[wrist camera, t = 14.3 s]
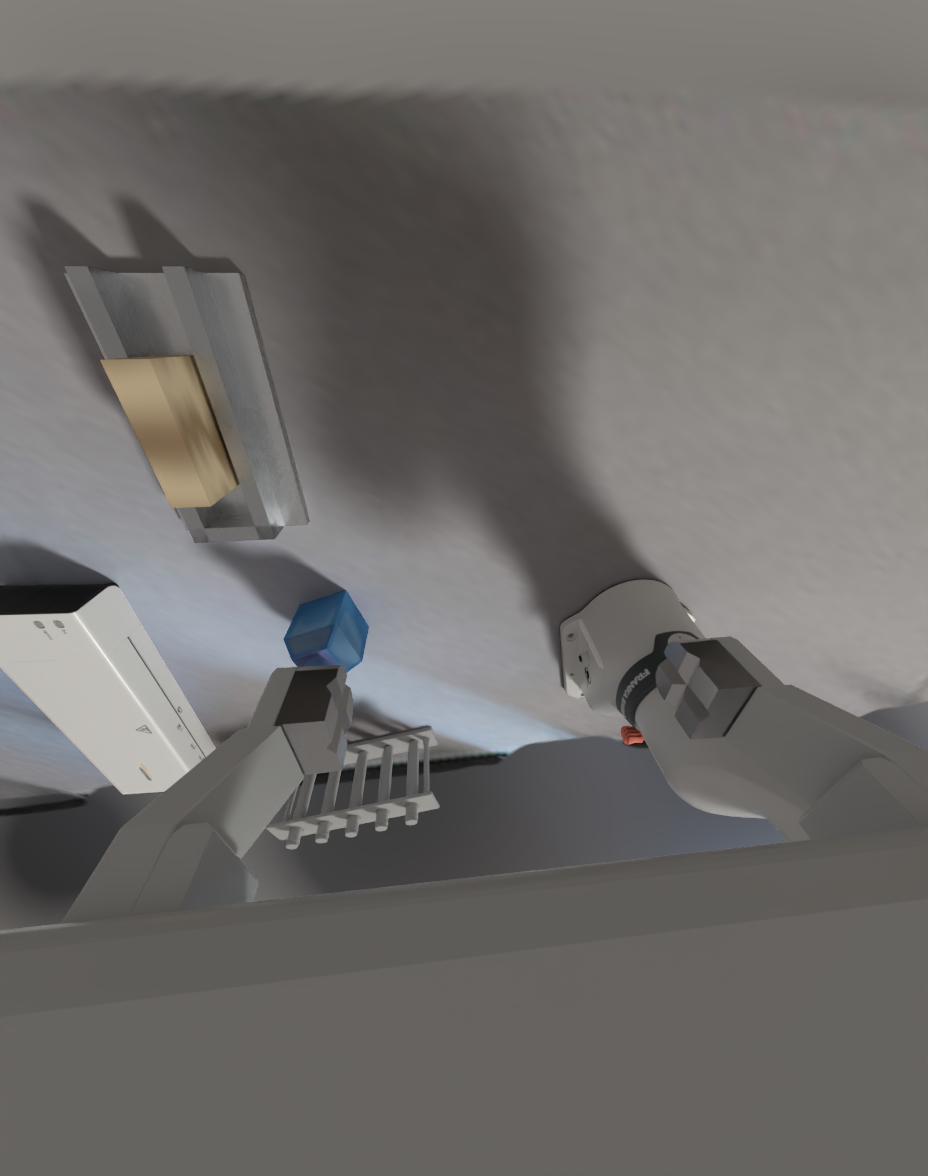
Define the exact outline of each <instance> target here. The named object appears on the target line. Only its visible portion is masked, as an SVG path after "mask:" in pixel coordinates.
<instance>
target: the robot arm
mask: <svg viewBox="0 0 928 1176" xmlns="http://www.w3.org/2000/svg"><path fill="white" fill-rule="evenodd" d="M560 635H561V649H562V663H563V677H564V688H565V691H566V693H567V694H568V695H569V696H572V697H575V698H579V699H586V700H587V702H588V704H589V706H590V708H591V709H592V710H593V711H595V712H596V713H598V714H601V715H605V716H614V717H625V718H626V720H627V721H628V722H629V723H630V724H631V725H632V726H633V727H629V726H623V727H622V728H621V733H622V735H621V736H622V738H623V741H624V742H625V743H626V744H632V743H636V742H637V743H642V742H643V738H644V740H645V741H646V743H647V745H648V747H649V749H650V751H651V752H652V754H653V756H654V758H655V760H656V762H657V763H658V765H659V767H660V769H661V770H662V772H663V774H664V776H665V778H666V780H667V781H668V783H669V785H670V787H671V788H672V789H673V790H674V791H675V792H676V793H677V794H678V795H679V796H680V797H681V798H682V799H684V800H685V801H686V802H687V803H689V804H690V805H692V806H694V807H696V808H698V809H700V810H703V811H706V812H709V813H715V814H720V815H725V816H734V817H750V818H763V819H767V820H768V821H770V823H771V824H772V825H773V826H774V827H775V828H776V829H777V830H778V832H779V833H780V834H781V835H782V837H783V838H784V839H785V841H786V843H776V844H767V845H758V846H749V847H741V848H732V849H723V850H714V851H705V852H696V853H687V854H678V855H669V856H660V857H651V858H642V859H633V860H624V861H615V862H606V863H597V864H588V865H580V866H571V867H562V868H553V869H544V870H536V871H526V872H517V873H508V874H499V875H491V876H481V877H473V878H463V879H454V880H445V881H437V882H427V883H418V884H411V885H401V886H392V887H384V888H374V889H365V890H356V891H347V892H339V893H330V894H321V895H312V896H303V897H294V898H285V899H276V900H267V901H259V902H253V900H254V897H255V893H256V890H257V887H258V883H259V882H258V880H257V878H256V877H255V875H254V874H253V873H252V872H251V870H250V869H249V868H248V867H247V866H246V865H245V864H244V863H243V861H242V860H241V858H242V857H243V856H244V854H245V853H246V852H247V851H248V849H249V848H250V847H251V845H252V844H253V843H254V842H255V840H256V839H257V838H258V836H259V835H260V834H261V832H262V831H263V830H264V829H265V827H266V826H267V825H268V823H269V822H270V821H271V820H272V818H273V817H274V816H275V815H276V813H277V812H278V811H279V809H280V808H281V807H282V806H283V804H284V803H285V802H286V800H287V799H288V798H289V797H290V795H291V794H292V793H293V791H294V790H295V789H296V788H297V786H298V785H299V784H300V782H301V781H302V780H303V779H304V775H309V774H317V773H326V772H334V771H342V770H343V765H344V760H345V755H346V750H347V744H348V743H347V740H346V737H345V733H346V731H347V730H348V729H349V728H350V727H351V723H352V717H353V698H352V692H351V688H350V687H348V686H347V685H345V682H346V678H347V674H346V671H345V668H344V666H343V665H325V666H303V667H291V668H277V669H276V670H275V671H274V672H273V673H272V674H271V676H270V678H269V681H268V683H267V685H266V687H265V689H264V691H263V694H262V696H261V698H260V700H259V702H258V705H257V707H256V709H255V711H254V713H253V715H252V718H251V720H250V722H249V724H248V726H247V728H246V729H239V730H238V731H237V732H235V733H234V734H233V735H232V736H231V737H229V738H228V739H227V740H226V741H225V742H223V743H222V744H221V745H220V746H219V747H217V748H216V749H215V750H214V751H213V752H211V753H210V754H209V755H208V756H207V757H205V758H204V759H203V760H202V761H201V762H199V763H198V764H197V765H196V766H195V767H193V768H192V769H191V770H190V771H189V772H187V773H186V774H185V775H184V776H183V777H181V778H180V779H179V780H178V781H177V782H175V783H174V784H173V785H172V786H171V787H169V788H168V789H167V790H166V791H165V792H163V793H162V794H161V795H160V796H159V797H157V798H156V799H155V800H154V801H153V802H151V803H150V804H149V805H148V806H147V807H145V808H144V809H143V810H142V811H141V812H139V813H138V814H137V815H136V816H135V817H133V818H132V819H131V820H130V821H129V822H128V823H126V824H125V825H124V826H123V827H122V828H121V829H120V830H119V832H118V833H117V835H116V837H115V838H114V840H113V841H112V843H111V845H110V846H109V848H108V850H107V851H106V853H105V854H104V856H103V858H102V859H101V861H100V862H99V864H98V866H97V867H96V869H95V870H94V872H93V874H92V875H91V877H90V878H89V880H88V881H87V883H86V885H85V886H84V888H83V890H82V891H81V893H80V894H79V896H78V898H77V899H76V901H75V902H74V904H73V906H72V907H71V909H70V911H69V912H68V914H67V915H66V917H65V919H64V920H63V922H62V923H61V924H53V925H45V926H36V927H26V928H17V929H9V930H0V1176H928V751H927V750H925V749H923V748H921V747H919V746H917V745H915V744H913V743H911V742H909V741H907V740H905V739H902V738H900V737H898V736H896V735H894V734H892V733H890V732H888V731H886V730H884V729H882V728H880V727H878V726H875V725H873V724H871V723H869V722H867V721H865V720H863V719H861V718H859V717H857V716H855V715H853V714H851V713H848V712H846V711H844V710H842V709H840V708H838V707H836V706H834V705H832V704H830V703H828V702H826V701H824V700H822V699H819V698H817V697H815V696H813V695H811V694H809V693H807V692H805V691H803V690H801V689H799V688H797V687H795V686H792V685H784V684H783V683H782V682H781V681H780V680H779V679H778V678H777V677H776V676H775V675H774V674H773V673H772V672H771V671H770V670H768V669H767V668H766V667H765V666H764V665H763V664H762V663H761V662H760V661H759V660H758V659H757V658H756V657H755V656H754V655H753V654H752V653H751V652H750V651H749V650H748V649H747V648H745V647H744V646H743V645H742V644H741V643H740V642H739V641H738V640H737V639H735V638H732V637H719V638H710V639H707V638H705V637H704V635H703V634H702V633H701V631H700V630H699V629H698V627H697V626H696V625H695V617H694V616H693V615H692V613H691V612H690V611H689V610H687V609H686V608H684V607H683V606H682V605H681V603H680V601H679V599H678V597H677V595H676V594H675V592H674V591H673V590H672V589H671V588H670V587H669V586H667V585H665V584H663V583H661V582H658V581H654V580H634V581H629V582H625V583H622V584H619V585H616V586H614V587H612V588H610V589H608V590H606V591H604V592H603V593H601V594H600V595H598V596H597V597H596V598H595V599H593V600H592V601H591V602H590V603H589V604H588V605H587V606H586V607H585V608H584V609H583V610H582V611H581V612H579V613H578V614H576V615H574V616H572V617H570V618H568V619H567V620H565V621H564V622H563V623H562V624H561V626H560Z"/></svg>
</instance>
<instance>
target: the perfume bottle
mask: <svg viewBox="0 0 928 1176" xmlns="http://www.w3.org/2000/svg"><path fill="white" fill-rule="evenodd" d="M368 629H369V626H368V625H367V623H366V621H365V620H364V618H363V617H362V615H361V613H360V612H359V610H358V609H357V607H356V605H355V604H354V602H353V601H352V599H351V597H350V596H349V594H348V593H347V591H346V590H345V591H342V592H339V593H336V594H333V595H330V596H326V597H323V598H320V599H317V600H314V601H311V602H308V603H305V604H302V605H299V608H298V610H297V612H296V614H295V616H294V618H293V620H292V622H291V625H290V627H289V629H288V631H287V633H286V635H285V637H284V642H285V644H286V647H287V649H288V652H289V654H290V657H291V659H292V661H293V662H294V663H295V664H296V665H297V667H303V666H325V665H343V666H344V668H345V671H346V673H347V672H348V671H350V670H351V669H352V668H354V667H355V666H356V665H358V664H359V663H360V662H362V659H363V654H364V649H365V644H366V639H367V634H368Z"/></svg>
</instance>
